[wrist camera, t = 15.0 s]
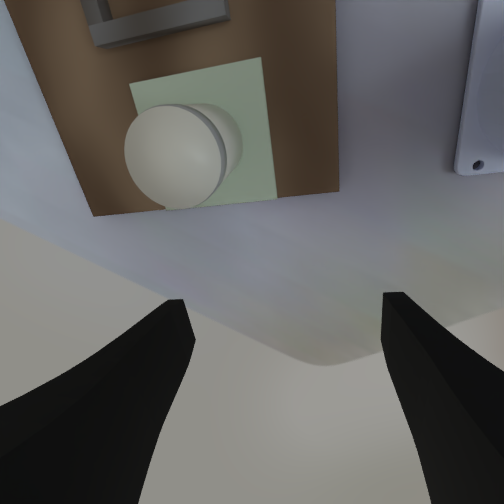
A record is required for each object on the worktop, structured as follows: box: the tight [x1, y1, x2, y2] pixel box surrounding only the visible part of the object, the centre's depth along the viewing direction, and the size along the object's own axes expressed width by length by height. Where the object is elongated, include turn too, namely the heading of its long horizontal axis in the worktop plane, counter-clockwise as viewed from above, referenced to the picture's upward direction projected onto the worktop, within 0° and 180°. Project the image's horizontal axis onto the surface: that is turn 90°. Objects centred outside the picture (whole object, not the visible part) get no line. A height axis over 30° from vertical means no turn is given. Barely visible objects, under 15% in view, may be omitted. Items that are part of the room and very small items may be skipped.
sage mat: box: [129, 57, 278, 211], centre depth 16 cm, size 7×7×1 cm
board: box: [4, 0, 339, 217], centre depth 12 cm, size 16×19×6 cm
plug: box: [124, 103, 243, 209], centre depth 14 cm, size 4×4×5 cm
